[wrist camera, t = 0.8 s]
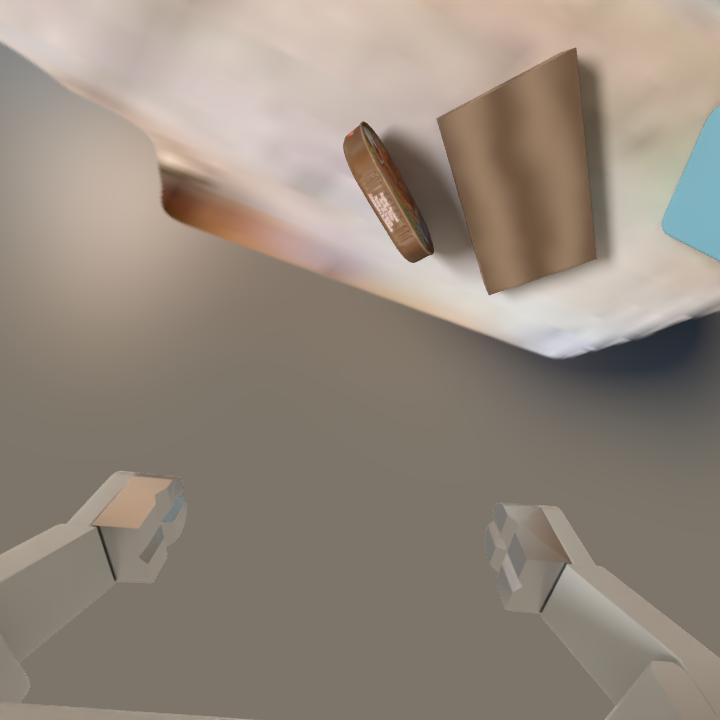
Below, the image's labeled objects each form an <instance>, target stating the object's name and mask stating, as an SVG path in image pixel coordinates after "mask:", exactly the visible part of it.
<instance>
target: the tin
mask: <svg viewBox="0 0 720 720" xmlns="http://www.w3.org/2000/svg"><path fill="white" fill-rule="evenodd" d="M343 149H344V153H345V157H346V160H347V162H348V165H349V167H350V169H351V172H352V174H353V176H354V178H355V180H356V181H357V183H358V185H359V187H360V188H361V190H362V192H363V193H364V195H365V197H366V198H367V200H368V202H369V203H370V205H371V207H372V208H373V210H374V212H375V213H376V215H377V217H378V218H379V220H380V222H381V223H382V225H383V227H384V228H385V230H386V231H387V233H388V235H389V236H390V238H391V239H392V241H393V243H394V244H395V246H396V247H397V249H398V250H399V252H400V253H401V254H402V255H403V257H404V258H405V259H406V260H408V261H409V262H411V263H415V262H417V261H419V260H421V259H423V258H425V257H427V256H429V255H432V254H433V253H434V248H433V243H432V240H431V237H430V234H429V231H428V228H427V226H426V224H425V221H424V219H423V217H422V215H421V213H420V211H419V209H418V208H417V206H416V204H415V202H414V200H413V198H412V196H411V195H410V193H409V191H408V189H407V187H406V185H405V183H404V182H403V180H402V178H401V176H400V174H399V172H398V170H397V168H396V167H395V165H394V163H393V161H392V159H391V157H390V155H389V154H388V152H387V150H386V148H385V147H384V145H383V143H382V142H381V140H380V139H379V137H378V136H377V134H376V133H375V131H374V130H373V129H372V128H371V127H370V126H369V125H368V124H367V123H366V122H361V124H360V125H359V126H358V127H357V128H356V129H354V130H353V131H352V132H351V133H349V134H348V135H347V136H346V137H345V140H344V144H343Z"/></svg>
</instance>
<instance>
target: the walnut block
mask: <svg viewBox="0 0 720 720" xmlns="http://www.w3.org/2000/svg"><path fill="white" fill-rule="evenodd" d="M437 122H438V125H439V129H440V132H441V136H442V139H443V143H444V146H445V150H446V153H447V157H448V160H449V164H450V167H451V170H452V174H453V177H454V181H455V184H456V188H457V191H458V195H459V198H460V202H461V205H462V209H463V212H464V216H465V219H466V223H467V226H468V230H469V233H470V237H471V240H472V244H473V247H474V251H475V254H476V258H477V261H478V265H479V268H480V272H481V275H482V279H483V282H484V285H485V287H486V290H487V292H488V294H489V295H491V294H494V293H497V292H500V291H503V290H506V289H509V288H512V287H515V286H518V285H521V284H523V283H526V282H529V281H532V280H535V279H538V278H541V277H544V276H547V275H550V274H553V273H556V272H559V271H562V270H564V269H567V268H570V267H573V266H576V265H579V264H582V263H585V262H588V261H591V260H594V259H597V258H596V248H595V237H594V227H593V217H592V206H591V196H590V186H589V175H588V165H587V154H586V144H585V134H584V123H583V113H582V103H581V92H580V82H579V72H578V61H577V51H576V48H573V49H570V50H567V51H564V52H561V53H559V54H557V55H555V56H554V57H552V58H550V59H548V60H546V61H544V62H542V63H540V64H539V65H537V66H535V67H533V68H531V69H529V70H527V71H525V72H523V73H522V74H520V75H518V76H516V77H514V78H512V79H510V80H508V81H506V82H505V83H503V84H501V85H499V86H497V87H495V88H493V89H491V90H490V91H488V92H486V93H484V94H482V95H480V96H478V97H476V98H474V99H473V100H471V101H469V102H467V103H465V104H463V105H461V106H459V107H458V108H456V109H454V110H452V111H450V112H448V113H446V114H444V115H442V116H441V117H439V118H437Z"/></svg>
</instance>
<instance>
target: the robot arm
mask: <svg viewBox="0 0 720 720" xmlns="http://www.w3.org/2000/svg"><path fill="white" fill-rule="evenodd" d="M183 488H184V487H183V482H182V478H180V477H177V476H167V475H158V474H148V473H135V472H127V471H118V472H116V473H114V474H112V475H111V476H110V478H109V479H108V480H107V481H106V482H105V483H104V484H103V485H102V486H101V487H100V488H99V489H98V490H97V491H96V493H95V494H94V495H93V496H92V497H91V498H90V499H89V500H88V501H87V502H86V503H85V504H84V505H83V506H82V508H81V509H80V510H79V511H78V512H77V513H76V514H75V515H74V516H73V517H72V518H71V519H70V520H69V522H68V523H67V524H58V525H56V526H54V527H52V528H51V529H49V530H47V531H45V532H43V533H41V534H39V535H37V536H35V537H33V538H31V539H29V540H28V541H25V542H24V543H22V544H20V545H18V546H16V547H14V548H12V549H10V550H8V551H6V552H4V553H3V554H1V555H0V720H250V719H236V718H222V717H208V716H193V715H178V714H165V713H164V714H163V713H150V712H136V711H121V710H107V709H92V708H78V707H63V706H49V705H34V704H20V703H21V701H22V700H23V698H24V697H25V695H26V693H27V692H28V691H29V689H30V681H29V679H28V677H27V675H26V674H25V672H24V671H23V669H22V667H21V666H20V664H19V663H20V662H21V661H22V660H23V659H25V658H26V657H27V656H28V655H30V654H31V653H32V652H33V651H34V650H36V649H37V648H38V647H39V646H40V645H42V644H43V643H44V642H45V641H46V640H48V639H49V638H50V637H51V636H53V635H54V634H55V633H56V632H57V631H59V630H60V629H61V628H62V627H63V626H64V625H66V624H67V623H68V622H69V621H71V620H72V619H73V618H74V617H76V616H77V615H78V614H79V613H80V612H82V611H83V610H84V609H85V608H86V607H88V606H89V605H90V604H91V603H92V602H94V601H95V600H96V599H97V598H98V597H100V596H101V595H102V594H103V593H105V592H106V591H107V590H108V589H109V588H111V587H112V586H113V585H114V584H115V582H135V583H153V582H154V580H155V578H156V576H157V575H158V573H159V571H160V569H161V567H162V566H163V564H164V562H165V560H166V558H167V557H168V556H167V550H166V547H167V546H169V545H170V544H172V543H173V542H175V541H176V540H177V539H178V537H179V535H180V533H181V531H182V530H183V527H184V523H185V520H186V515H187V504H186V501H185V499H184V498H183V497H182V496H181V495H180V493H181V492H182V490H183ZM492 514H493V517H494V519H495V520H494V521H493V522H492V523H490V524H489V525H488V526H487V530H486V533H485V548H486V554H487V558H488V561H489V564H490V565H491V566H492V567H493V568H494V569H495V570H496V571H497V572H498V573H499V574H498V576H497V579H496V585H497V588H498V591H499V594H500V597H501V600H502V602H503V605H504V609H505V610H508V611H518V612H528V613H536V614H541V617H542V619H543V620H544V621H545V622H546V623H547V624H548V626H549V627H550V628H551V629H552V630H553V631H554V633H555V634H556V635H557V636H558V638H559V639H560V640H561V641H562V642H563V643H564V645H565V646H566V647H567V648H568V649H569V651H570V652H571V653H572V654H573V655H574V656H575V658H576V659H577V660H578V661H579V662H580V664H581V665H582V666H583V667H584V668H585V670H586V671H587V672H588V673H589V674H590V675H591V677H592V678H593V679H594V680H595V681H596V683H597V684H598V685H599V686H600V687H601V688H602V690H603V691H604V692H605V693H606V695H607V696H608V697H609V698H610V699H611V700H612V701H613V703H614V704H615V705H616V706H615V707H614V709H613V710H612V711H611V712H610V714H609V715H608V716H607V717H606V719H605V720H720V658H719V657H717V656H716V655H715V654H713V653H712V652H711V651H710V650H708V649H707V648H706V647H704V646H703V645H702V644H700V643H699V642H698V641H697V640H695V639H694V638H693V637H692V636H691V635H689V634H688V633H686V632H685V631H684V630H683V629H682V628H680V627H679V626H678V625H676V624H675V623H674V622H672V621H671V620H670V619H669V618H667V617H666V616H665V615H664V614H662V613H661V612H659V610H657V609H656V608H654V607H653V606H652V605H651V604H649V603H648V602H647V601H646V600H644V599H643V598H642V597H641V596H639V595H638V594H636V593H635V592H634V591H633V590H631V589H630V588H629V587H628V586H627V585H625V584H624V583H623V582H621V581H620V580H619V579H618V578H616V577H615V576H614V575H612V574H611V573H610V572H609V571H607V570H606V569H605V568H603V567H601V566H596V565H595V564H594V562H593V560H592V559H591V557H590V555H589V554H588V552H587V551H586V549H585V548H584V546H583V544H582V543H581V541H580V540H579V538H578V536H577V535H576V533H575V532H574V530H573V528H572V527H571V525H570V524H569V522H568V521H567V519H566V517H565V516H564V514H563V512H562V511H561V510H560V509H559V508H558V507H554V506H540V505H536V506H535V505H527V504H514V503H497V504H496V505H495V506H494V509H493V512H492Z"/></svg>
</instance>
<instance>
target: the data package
mask: <svg viewBox="0 0 720 720" xmlns="http://www.w3.org/2000/svg"><path fill="white" fill-rule="evenodd" d="M662 227H663V231H664V232H665V234H667V235H669V236H671V237H673V238H675V239H677V240H679V241H681V242H683V243H684V244H686V245H688V246H690V247H692V248H694V249H696V250H698V251H700V252H702V253H704V254H706V255H708V256H710V257H712V258H714V259H716V260H718V261H720V106H718V107H717V108H716V109H715V110H714V111H713V112H712V113H711V114H710V116H709V117H708V119H707V121H706V123H705V125H704V127H703V129H702V132H701V134H700V136H699V138H698V141H697V143H696V145H695V147H694V150H693V152H692V154H691V156H690V159H689V161H688V163H687V166H686V168H685V170H684V172H683V175H682V177H681V179H680V181H679V184H678V186H677V188H676V190H675V193H674V195H673V197H672V200H671V202H670V204H669V206H668V209H667V211H666V213H665V215H664V218H663V223H662Z"/></svg>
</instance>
